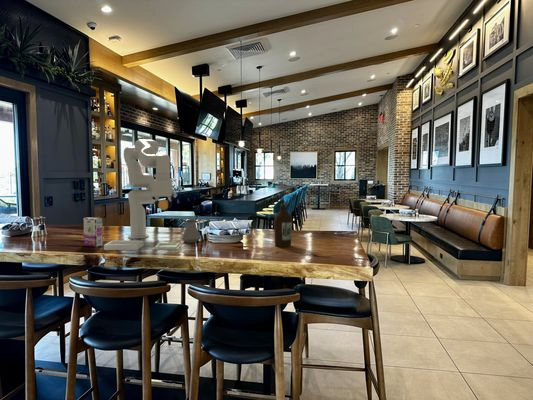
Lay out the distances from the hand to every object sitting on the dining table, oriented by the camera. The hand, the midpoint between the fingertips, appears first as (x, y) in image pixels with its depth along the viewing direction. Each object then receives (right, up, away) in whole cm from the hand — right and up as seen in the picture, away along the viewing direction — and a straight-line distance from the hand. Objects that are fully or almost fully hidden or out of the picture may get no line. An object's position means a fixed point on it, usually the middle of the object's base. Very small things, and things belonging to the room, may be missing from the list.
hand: (163, 208), depth 197 cm
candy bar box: (-43, -22, +6) cm, 49 cm away
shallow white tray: (-22, -23, 0) cm, 32 cm away
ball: (0, -1, 0) cm, 1 cm away
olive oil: (+68, -23, +6) cm, 72 cm away
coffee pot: (+12, -21, +24) cm, 34 cm away
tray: (+2, -23, +2) cm, 23 cm away
